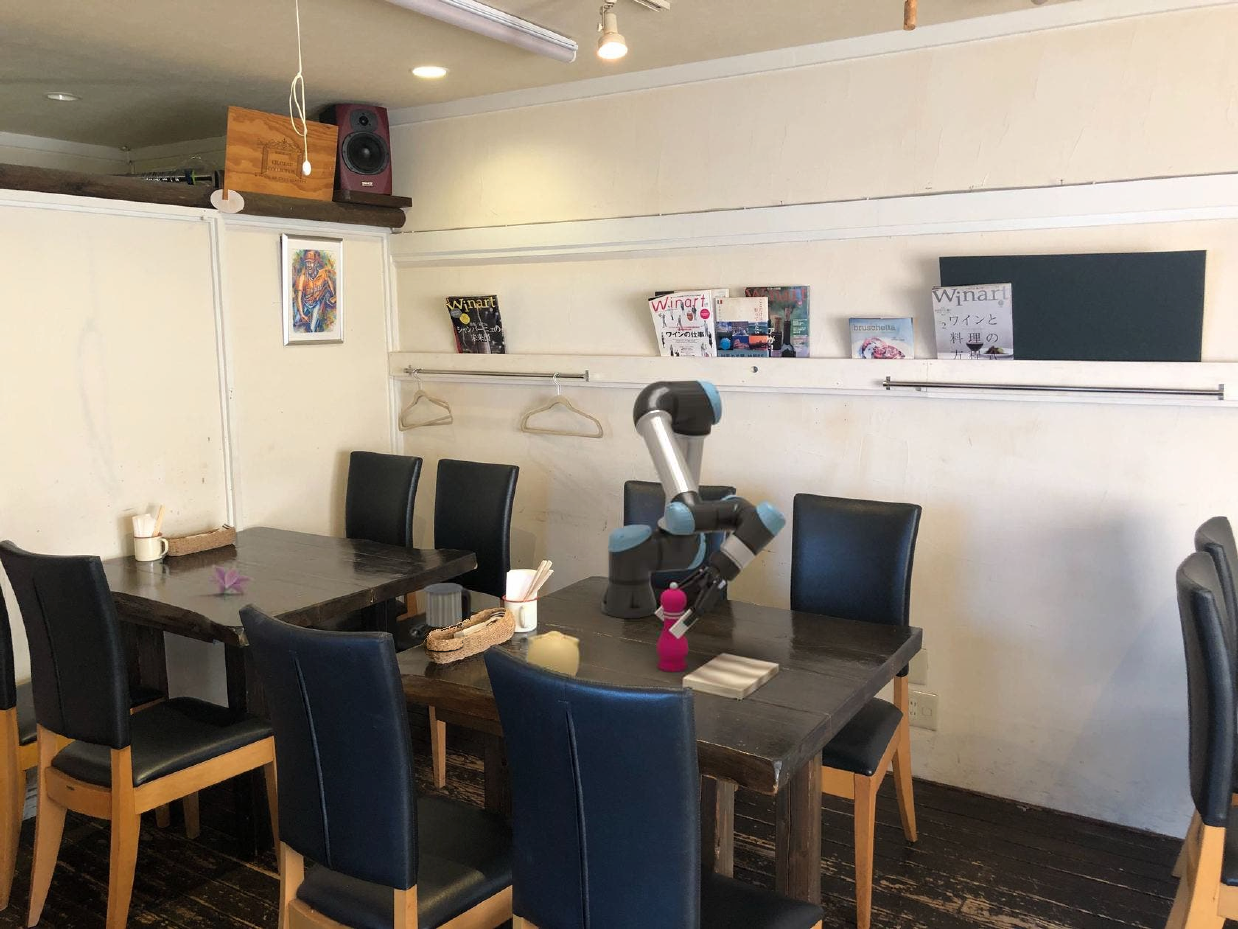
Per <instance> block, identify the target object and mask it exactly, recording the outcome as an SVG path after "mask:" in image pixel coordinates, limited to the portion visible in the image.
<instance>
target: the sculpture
mask: <svg viewBox="0 0 1238 929" xmlns="http://www.w3.org/2000/svg"><path fill="white" fill-rule="evenodd" d="M528 642H529V647H528V649H527V650H528V651H527V654H526V655H527V656H526V663H527V662H531V663H533V664H537V665H539V666H541V667H546V668H547V669H550V670H554V671H558V672H560V673H566V674H569V675H572V676H574V677H575V676H576V674H577V672H578V670H579V663H580V651H579V647H578V644H579V643H580V640H579V639H578V638H577V637H573V636H569V635H566V634H565V635H564V633H561V632H560V631H556V630H552V631H549V632H547V633H544V634H538V635H536V636H531V637H529V638H528Z"/></svg>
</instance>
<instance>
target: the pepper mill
mask: <svg viewBox="0 0 1238 929" xmlns="http://www.w3.org/2000/svg"><path fill="white" fill-rule="evenodd" d="M677 584H678V583H676V582H671V583H670V585H669V589H666V590H664V591H663V592H662V593H661V595H660V600H659V601H660V602H659V603H660V606H662V607H663V608H664V609H663V610H662V612H663V614H662V616H663V617H664V621H663V622H664V623H663V629H662V630H663V631H662V633H661V634H660V637H659V639H658V640H657V646H656V652H657V654H658V655H659V657H660V658H659V659H658V668H659V669H660V670H662V671H664V670H665V672H671V671H672V673H675V672H682V671H684V670H685V669H686V668H687V660H686V658H685V657H686V656H687V654H688V653H689V643H688V641H687V638H686V635H685V633H684V634H683V635H682V636H681V637H680V638H679V639H678V638H676V637H675V636H674V635H673V634H672V633H671V632H670V631H669V630H670V629H671V628H672V627H673V626H674V625H675V623H676V622H677V621H678V620H679V619H680V618H681V617H682V616H683V615H684V614H685V610H684V608H685V607H686V605H687V602H688V601H687V599H688V598H687V597H686V595H685V594H684V592H683V591H681V590H679V589H677V587H678V585H677Z"/></svg>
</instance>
